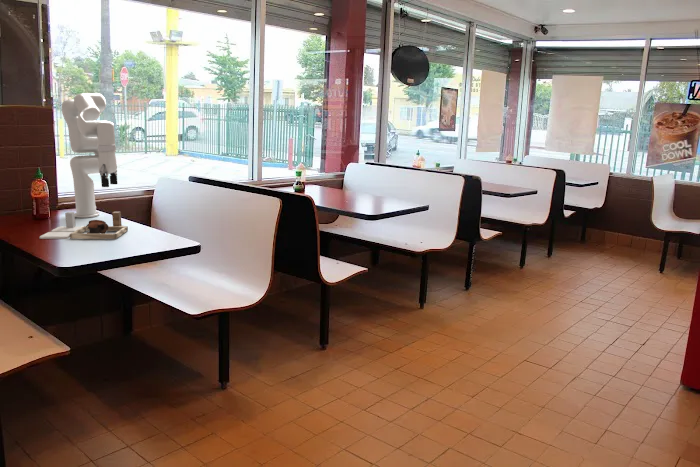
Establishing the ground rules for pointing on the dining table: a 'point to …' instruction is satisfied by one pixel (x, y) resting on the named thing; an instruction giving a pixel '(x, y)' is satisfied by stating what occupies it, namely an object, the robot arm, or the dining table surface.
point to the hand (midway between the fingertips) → (109, 185)
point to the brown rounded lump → (97, 227)
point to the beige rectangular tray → (116, 227)
